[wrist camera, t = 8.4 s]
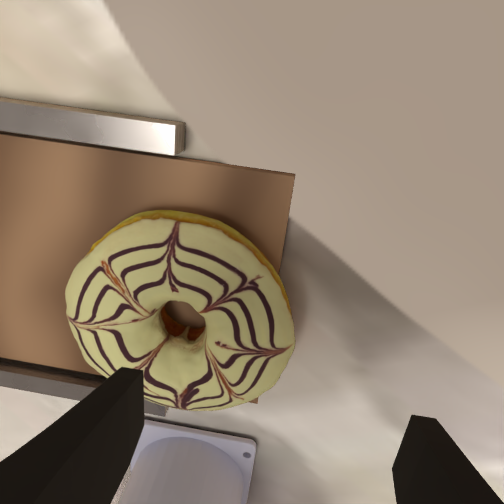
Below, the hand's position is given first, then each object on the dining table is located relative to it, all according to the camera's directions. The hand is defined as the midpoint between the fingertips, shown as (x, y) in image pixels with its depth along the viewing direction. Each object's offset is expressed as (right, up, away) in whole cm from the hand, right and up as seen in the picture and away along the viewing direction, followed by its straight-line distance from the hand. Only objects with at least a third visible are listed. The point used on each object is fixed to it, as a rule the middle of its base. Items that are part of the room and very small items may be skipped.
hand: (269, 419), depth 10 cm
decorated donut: (-4, +2, +10) cm, 11 cm away
